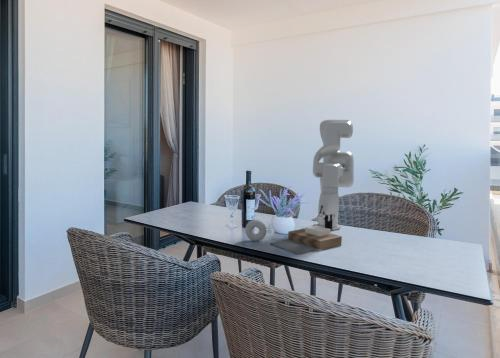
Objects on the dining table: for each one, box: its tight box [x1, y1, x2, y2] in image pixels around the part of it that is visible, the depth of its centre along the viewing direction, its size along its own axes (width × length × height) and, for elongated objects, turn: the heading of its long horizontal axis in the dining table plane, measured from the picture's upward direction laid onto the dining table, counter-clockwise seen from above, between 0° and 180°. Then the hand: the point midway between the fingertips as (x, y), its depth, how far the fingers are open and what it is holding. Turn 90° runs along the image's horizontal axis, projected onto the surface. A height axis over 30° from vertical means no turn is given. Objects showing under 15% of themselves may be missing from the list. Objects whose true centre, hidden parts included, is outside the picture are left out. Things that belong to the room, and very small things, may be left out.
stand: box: [287, 228, 343, 251], centre depth 173 cm, size 20×14×4 cm
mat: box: [269, 239, 318, 255], centre depth 165 cm, size 18×11×1 cm, turn 37°
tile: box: [305, 224, 331, 236], centre depth 174 cm, size 9×7×2 cm
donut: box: [244, 219, 267, 242], centre depth 174 cm, size 10×4×10 cm, turn 80°
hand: (328, 228), depth 178 cm, fingers closed
